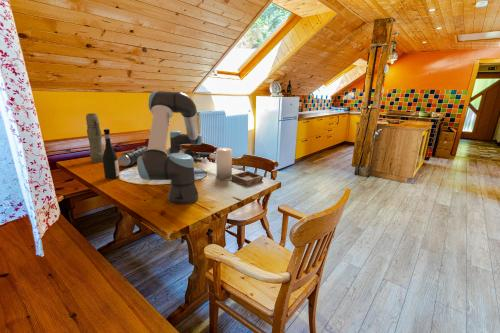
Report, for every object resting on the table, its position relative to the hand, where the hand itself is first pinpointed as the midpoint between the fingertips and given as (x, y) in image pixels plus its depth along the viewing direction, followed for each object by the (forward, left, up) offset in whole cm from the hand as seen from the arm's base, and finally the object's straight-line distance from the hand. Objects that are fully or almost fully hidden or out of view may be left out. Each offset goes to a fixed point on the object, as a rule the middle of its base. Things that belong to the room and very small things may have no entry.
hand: (212, 159), depth 170 cm
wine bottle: (-54, +30, -10) cm, 62 cm away
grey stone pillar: (-51, +75, -10) cm, 91 cm away
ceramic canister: (+3, -9, -10) cm, 14 cm away
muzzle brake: (-31, +55, -10) cm, 64 cm away
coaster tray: (+9, -25, -10) cm, 29 cm away
